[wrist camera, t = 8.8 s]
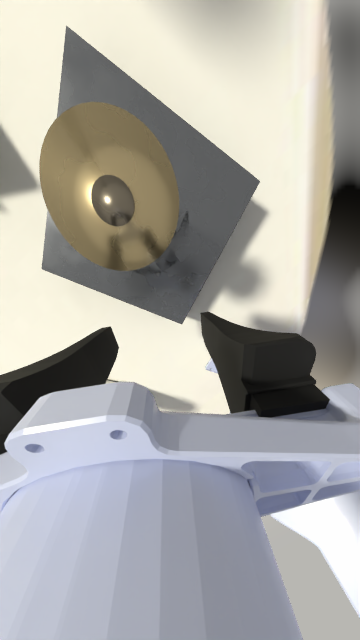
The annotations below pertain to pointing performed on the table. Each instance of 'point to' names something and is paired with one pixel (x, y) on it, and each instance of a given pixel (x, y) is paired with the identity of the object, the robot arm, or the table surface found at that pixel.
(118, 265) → the round door knob
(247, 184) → the grey flat block
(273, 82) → the table surface
